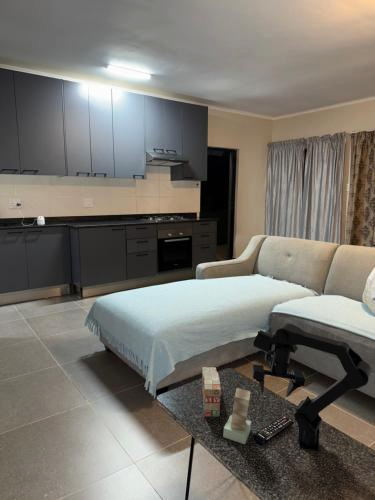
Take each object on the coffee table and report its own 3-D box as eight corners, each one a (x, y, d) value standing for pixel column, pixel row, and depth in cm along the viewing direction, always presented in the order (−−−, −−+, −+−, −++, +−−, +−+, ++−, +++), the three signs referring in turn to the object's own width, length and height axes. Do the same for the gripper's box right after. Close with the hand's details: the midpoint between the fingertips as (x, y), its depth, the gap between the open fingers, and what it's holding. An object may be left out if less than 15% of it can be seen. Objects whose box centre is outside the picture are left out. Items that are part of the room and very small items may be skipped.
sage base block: (250, 430, 128) (251, 421, 127) (244, 445, 121) (245, 435, 120) (230, 424, 131) (230, 414, 131) (223, 437, 124) (223, 428, 123)
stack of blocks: (201, 385, 156) (202, 360, 153) (215, 386, 156) (216, 360, 153) (203, 417, 135) (204, 388, 132) (219, 417, 135) (221, 388, 132)
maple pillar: (245, 421, 127) (250, 391, 123) (244, 431, 122) (249, 400, 119) (232, 417, 128) (236, 387, 124) (230, 427, 123) (234, 396, 120)
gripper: (302, 349, 131) (295, 384, 135) (253, 342, 132) (247, 377, 136) (309, 366, 120) (301, 403, 124) (256, 359, 121) (249, 396, 125)
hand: (274, 394), depth 128 cm, fingers open, 9 cm apart
